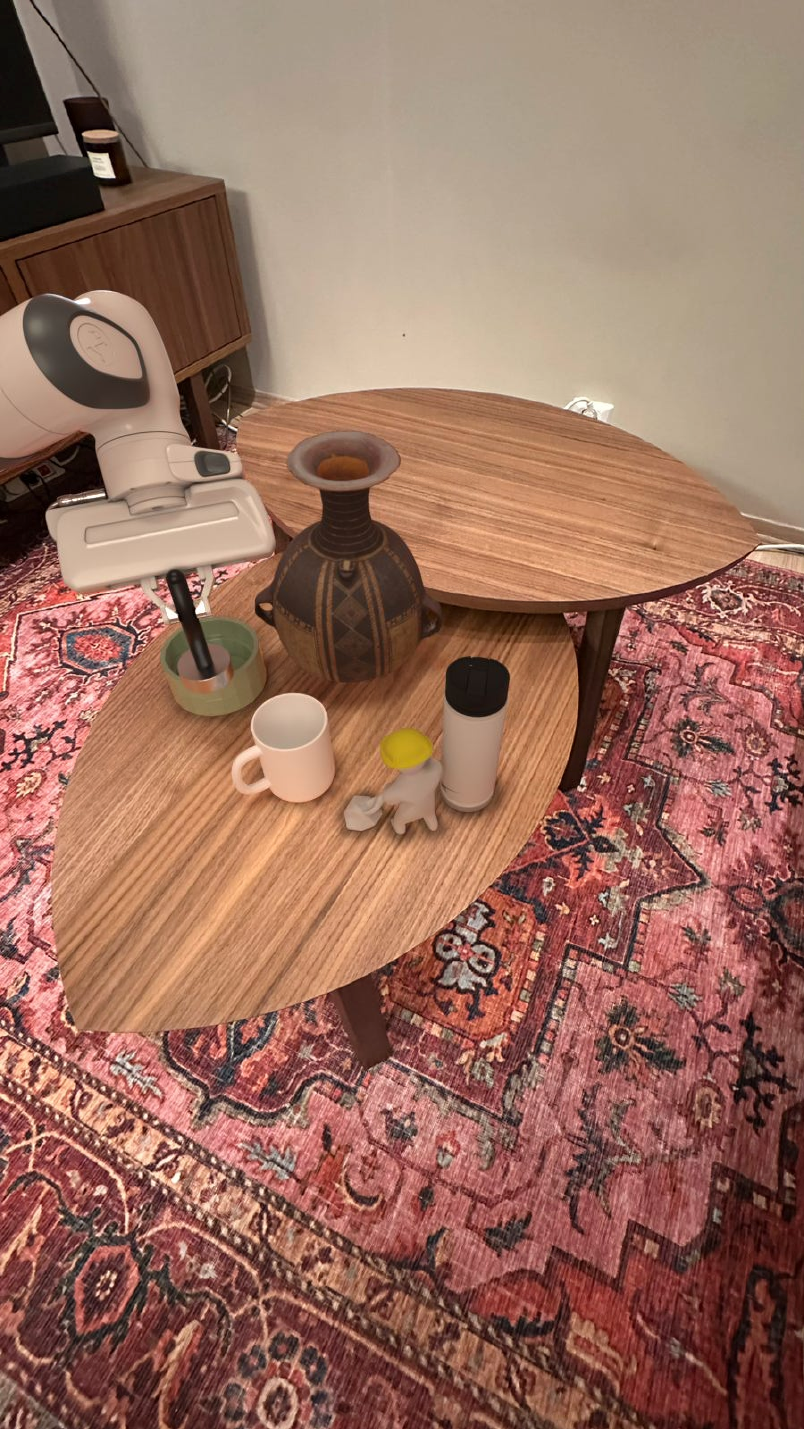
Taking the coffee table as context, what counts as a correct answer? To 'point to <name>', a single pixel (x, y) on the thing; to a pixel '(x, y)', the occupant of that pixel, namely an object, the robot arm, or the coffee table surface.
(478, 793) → the travel mug
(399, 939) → the coffee table surface
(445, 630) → the coffee table surface
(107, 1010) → the coffee table surface
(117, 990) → the coffee table surface
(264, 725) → the cup
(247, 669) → the bowl
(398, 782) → the figurine
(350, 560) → the vase
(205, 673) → the meat pounder
